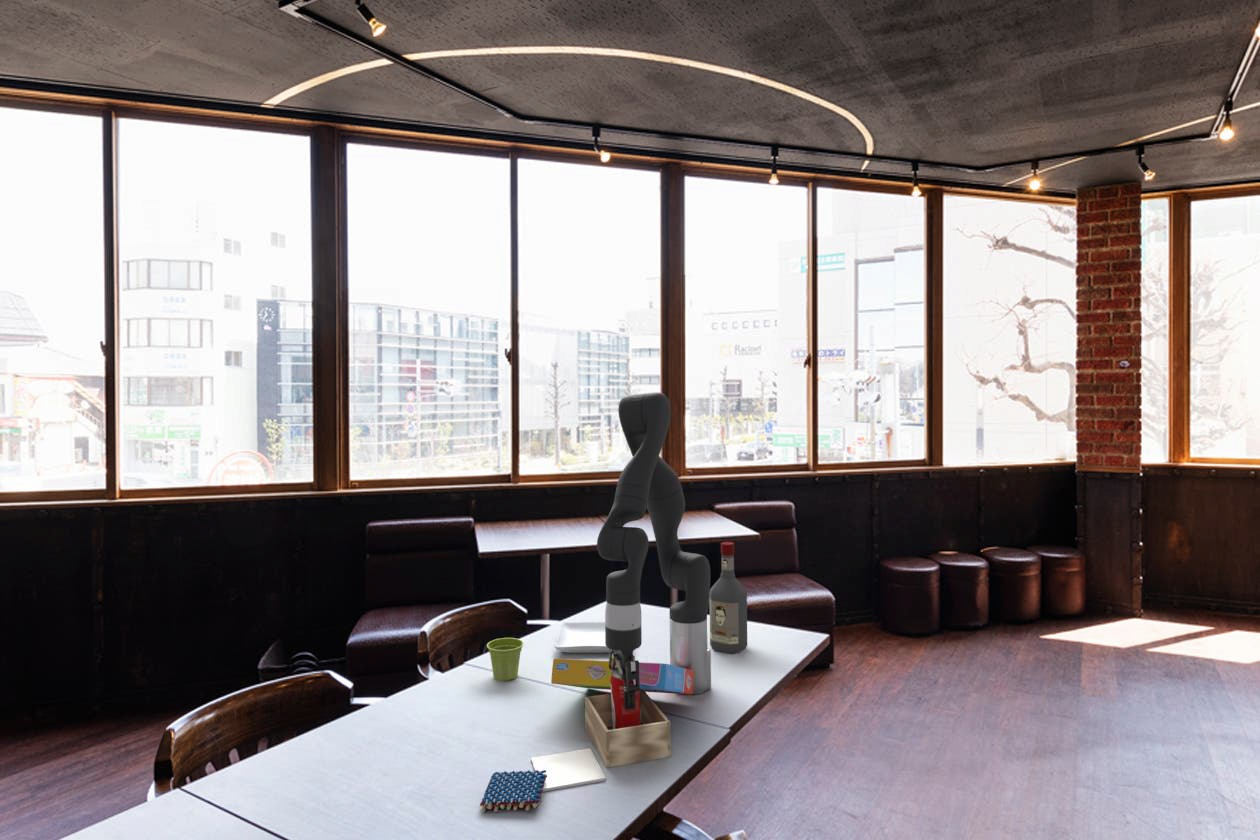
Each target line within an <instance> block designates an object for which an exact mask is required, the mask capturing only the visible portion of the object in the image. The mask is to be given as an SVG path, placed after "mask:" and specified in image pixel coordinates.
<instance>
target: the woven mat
mask: <svg viewBox="0 0 1260 840" xmlns="http://www.w3.org/2000/svg"><path fill="white" fill-rule="evenodd" d="M542 773H543V774H542ZM544 773H546V770H543V771H541V770H540V771H538V770H536V771H535V770H533V771H531V770H530V769H528V770H527V771H526V770H524V771H523V770H519V771H515V770H512V771H509V772H507V770H505V771H495V772H494V773H492V775H491V777H490V779H489V782H488V784H487V786H486V789H485V791H484V793H483V795H484V796H483V797H482V798H481V802H480V803H479V806H480V807H481V809H480V812H481V813H482V814H483V813H485V812H486V810H492V809H493V808H494V809H493V812H495V813H497V812H498V810H499V808H500V809H501V810H504V809H505V808H506V810H507V811H511V807H512V806H513V811H517V810H518V808H520V809H523V808H524V807H525V811H526V812H527V811H530V808H531V805H532V807H533V808H534V809H536V808H537V807H538V805H539V804H540V803H541V798H542V793H543V789H542V788H543V786H544V784H545V781H546V777H547V775H546V774H544Z"/></svg>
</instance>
